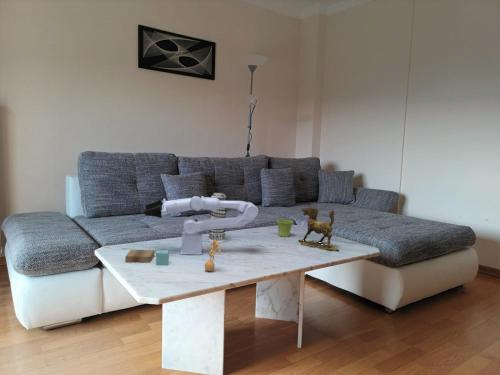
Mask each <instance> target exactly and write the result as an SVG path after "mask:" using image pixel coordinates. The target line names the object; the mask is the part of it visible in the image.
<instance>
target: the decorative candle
mask: <svg viewBox="0 0 500 375" xmlns="http://www.w3.org/2000/svg"><path fill="white" fill-rule="evenodd" d="M212 196H214V197H215V198H218V199H219V201H227V199H226V197H227V196H226V195H225V193H224V192H223V193H222V192H214V193H213V194H212V195H211V196H210V198H212ZM227 211H228V210H227V208H218V209H217V210H209V213H208V214H209V215H210V216H209V219H214V218H227V213H226V212H227ZM226 229H227V228H222V229H210V230H209V233H208V238H209V239H208V240H209V242H212V243H213V241H217V242H219V243H222V242H225V241H226V233H225V232H226Z"/></svg>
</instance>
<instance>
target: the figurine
mask: <svg viewBox="0 0 500 375" xmlns="http://www.w3.org/2000/svg"><path fill="white" fill-rule="evenodd" d="M301 212H303V215H304V216H306V215H307V216H308V219H307V231H306V232H305V233H306V234H305V235H304V237H303V239H298V240H297V241H298V243H299V244H300V245H301V246H305V247H306V246H307V247H309V248H315V249H316V248H317V249H319V250H323V251H328V252H339V251H340V249H339V248H338V247H335V246H332V245H331V239H332V237H333V234H331V233H332V231H333V229H334V228H333V224H334V223H335V211H334V209H331V210H330V212H329V219H330V222H328V221H319V220H318V219H317V217H318V213H319V209H318V208H317V207H316V206H314V207H311V206H309V207H305V208H304V207H303V208H301ZM313 232H314V233H315V234H317V235H321V234H322V235H323V236H322V237H321V238H320V239H319V241H317V242H315V241H312V240H307V237H308V236H309V235H311V233H313ZM325 238H327V241H326V242H324V239H325ZM303 240H304V241H303ZM319 242H322V243H319ZM321 244H323V245H321ZM325 244H327V245H325Z"/></svg>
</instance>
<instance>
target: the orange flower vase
mask: <svg viewBox="0 0 500 375" xmlns="http://www.w3.org/2000/svg"><path fill="white" fill-rule="evenodd" d="M211 246H212V248H211V250H210V251H209V253H208V256H209V257H210V258H209V259H208V260H207V261H206V262H205V263H204V269H205V270H206V271H208V272H212V271H213V270H214V269H215V268H216V267H215V266H216V265H215V263H214V259H215V255H216V253H218V255H219V256H220V255H221V249H222V247H221V245H220V242H217V241H213V242H212V243H210V244H209V245H208V246H207V248H206V249H205V251H207V250H208V249H209V248H210V247H211ZM218 248H219V252H217V249H218Z"/></svg>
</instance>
